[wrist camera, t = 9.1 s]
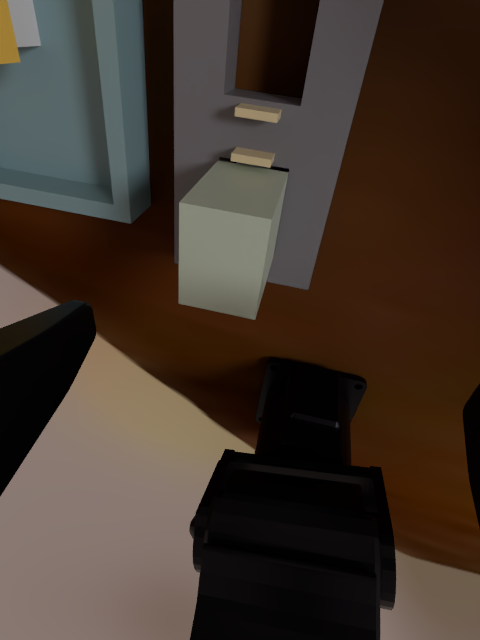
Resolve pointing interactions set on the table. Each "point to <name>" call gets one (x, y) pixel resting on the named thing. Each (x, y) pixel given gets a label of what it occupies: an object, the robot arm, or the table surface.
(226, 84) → the block
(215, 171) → the block
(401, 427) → the table surface
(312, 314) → the table surface
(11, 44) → the block
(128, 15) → the parts tray
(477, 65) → the table surface
